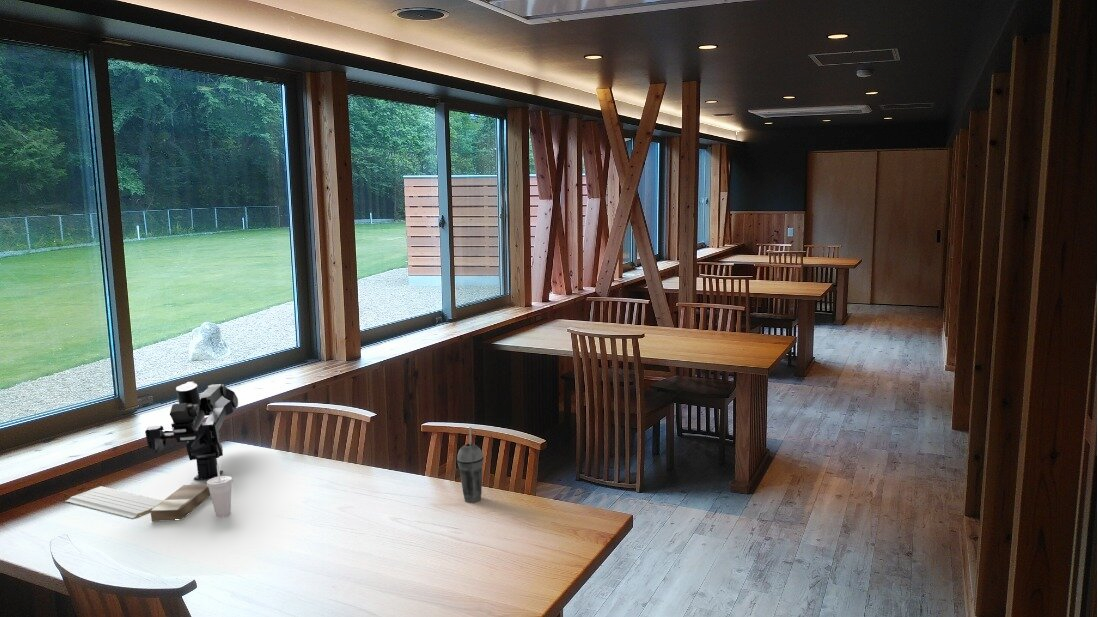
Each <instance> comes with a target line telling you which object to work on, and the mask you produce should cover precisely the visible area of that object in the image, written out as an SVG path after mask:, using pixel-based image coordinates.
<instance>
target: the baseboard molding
mask: <svg viewBox="0 0 1098 617" xmlns="http://www.w3.org/2000/svg"><path fill="white" fill-rule="evenodd" d="M95 486H97V487H95ZM94 487H95V488H91V489H90V490H87V489H89V487H87V488H80V489H78V490H77V494H76V495H73V496H70V495H72V493H71V494H65V495H64V497H66V498H67V497H68V496H70V497H69V498H68V499H67V500H65V498H63V499H62V500H60V502H62V503H64V502H65V503H67V502H70V503H69V504H71V503H73V504H72V505H75V504H76V506H79V505H81V506H80V507H83V506H84V507H83V508H87V507H88V509H92V510H95V509H96V511H98V512H99V511H100V512H102V513H107V512H108V513H107V514H111V513H112V514H111V515H115V514H116V516H119V515H120V517H123V516H124V517H123V518H127V517H128V518H127V519H131V518H132V519H131V520H134V519H136V518H135V517H137V518H139V517H141V516H140V515H142V516H144V515H146V514H148V512H149V513H151V512H150V510H151V509H153V508H154V507H155V506H157V505H158V504H159V503H161V502H162V501H163V500H164V499H163V500H162V499H157V498H153V497H149V496H144V495H141V494H136V493H133V492H128V491H124V490H120V489H119V490H118V489H114V488H111V487H107V486H106V487H105V486H101V485H100V483H99V484H97V485H94ZM84 490H85V491H84ZM86 490H87V491H86ZM82 491H84V492H82ZM78 492H82V493H78ZM145 513H146V514H145ZM143 514H144V515H143ZM138 516H139V517H138ZM133 518H134V519H133Z"/></svg>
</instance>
